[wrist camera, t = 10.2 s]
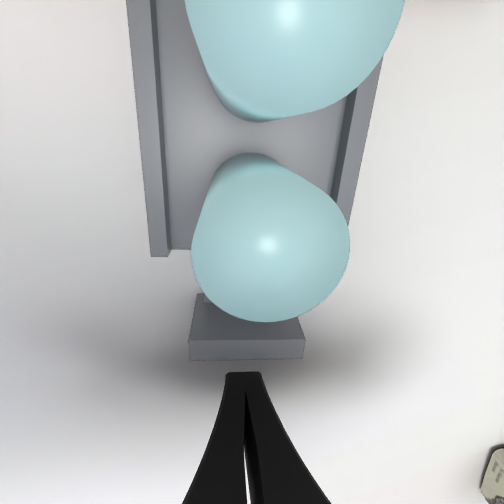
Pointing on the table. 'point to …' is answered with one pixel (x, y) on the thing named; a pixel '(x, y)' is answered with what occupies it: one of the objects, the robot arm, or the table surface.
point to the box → (494, 479)
